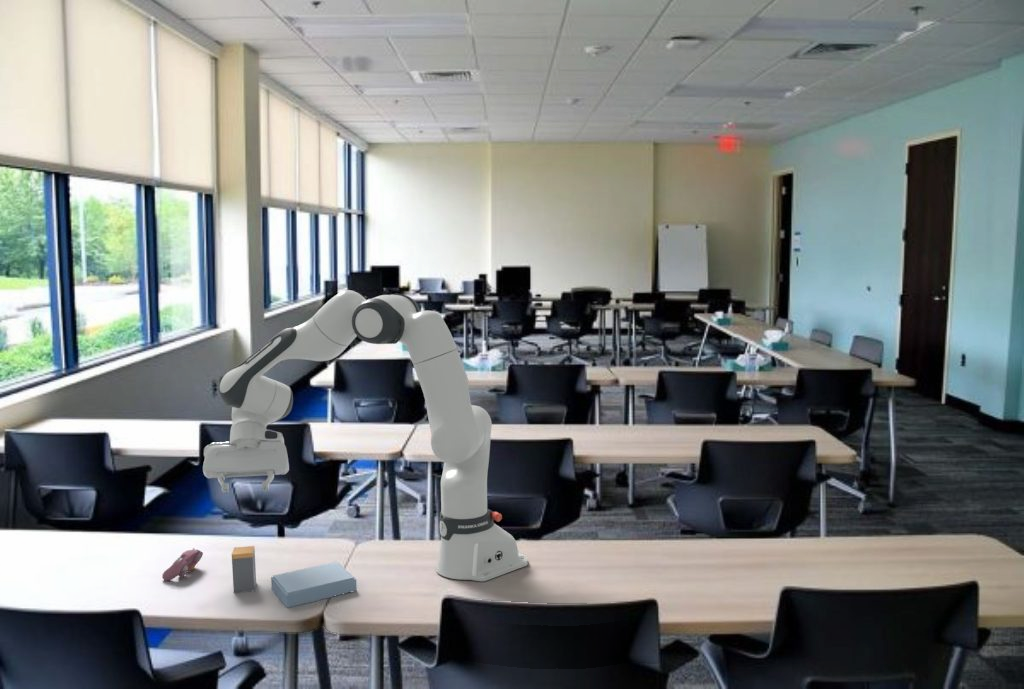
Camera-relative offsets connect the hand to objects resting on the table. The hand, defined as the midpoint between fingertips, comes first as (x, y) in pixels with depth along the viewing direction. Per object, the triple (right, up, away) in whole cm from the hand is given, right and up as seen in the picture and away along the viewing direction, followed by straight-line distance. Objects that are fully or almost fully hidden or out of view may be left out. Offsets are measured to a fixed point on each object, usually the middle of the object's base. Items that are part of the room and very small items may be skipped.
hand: (245, 490), depth 202 cm
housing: (+3, -21, -9) cm, 23 cm away
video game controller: (-14, -20, -1) cm, 25 cm away
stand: (+19, -21, -11) cm, 30 cm away
